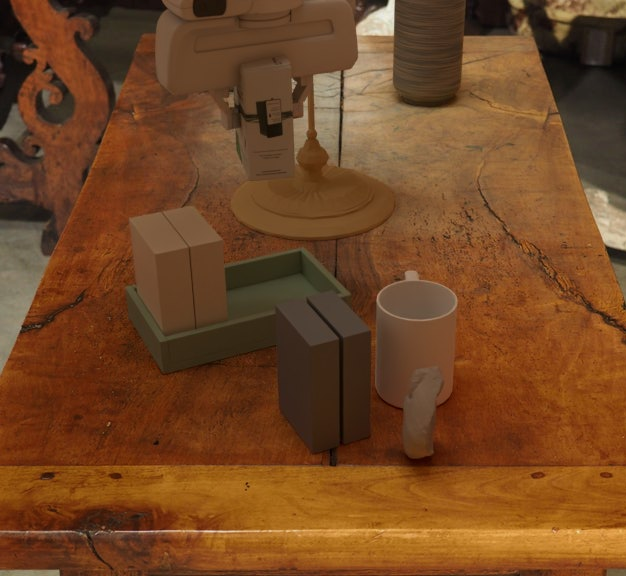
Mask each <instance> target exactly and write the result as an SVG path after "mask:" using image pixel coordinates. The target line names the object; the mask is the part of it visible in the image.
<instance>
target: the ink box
mask: <svg viewBox="0 0 626 576" xmlns="http://www.w3.org/2000/svg"><path fill="white" fill-rule="evenodd" d="M290 64H291V63H290V61H289V60H288V58H287V56H286V55H284V56H278V57H273V58H268V59H263V60H258V61H253V62H248V63H243V64H240V86H237V87H233V91H232V95H233V107H235V108H236V109H237V110H239V111H240V115H241V119H240V122H241V128H236V129H234V130H235V131H234V132H235V150H236V153H237V155H238V158H239V161H240V163H241V166H242V167H243V169H244V172H245V174H246V177H247V180H249V181H260V180H271V179H280V178H291V177H295V165H296V156H295V131H294V129H295V128H294V119H293V101H292V93H293V81H292V80H293V78H292V75H291V66H290Z"/></svg>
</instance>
